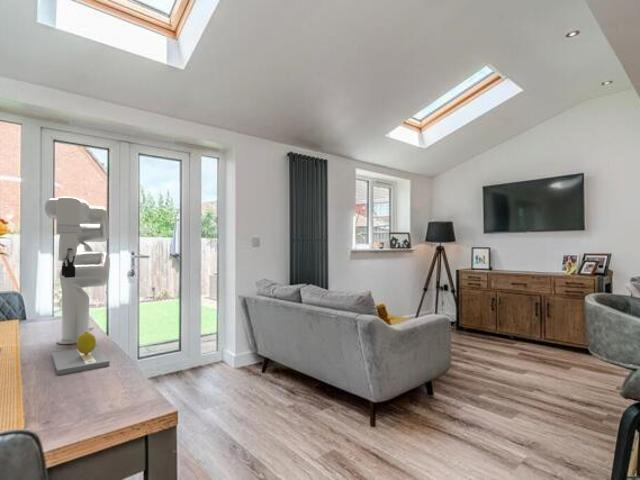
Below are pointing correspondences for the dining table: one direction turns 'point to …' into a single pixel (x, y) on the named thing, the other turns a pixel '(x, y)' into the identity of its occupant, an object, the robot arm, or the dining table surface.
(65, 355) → the panel
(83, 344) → the lemon
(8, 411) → the dining table surface
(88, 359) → the strip
